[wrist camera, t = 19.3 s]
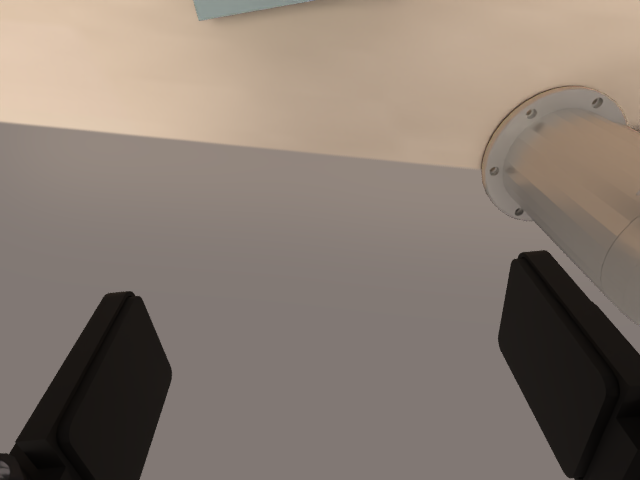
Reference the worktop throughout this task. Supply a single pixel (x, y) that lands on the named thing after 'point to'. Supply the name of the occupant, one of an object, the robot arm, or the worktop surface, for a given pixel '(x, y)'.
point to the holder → (236, 6)
